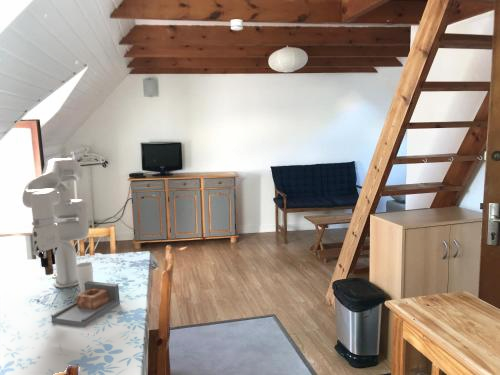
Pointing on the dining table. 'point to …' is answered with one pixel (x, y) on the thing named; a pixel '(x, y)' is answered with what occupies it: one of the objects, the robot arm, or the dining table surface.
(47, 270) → the dowel
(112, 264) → the dining table surface
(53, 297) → the dining table surface
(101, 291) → the block
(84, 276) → the drinking glass
